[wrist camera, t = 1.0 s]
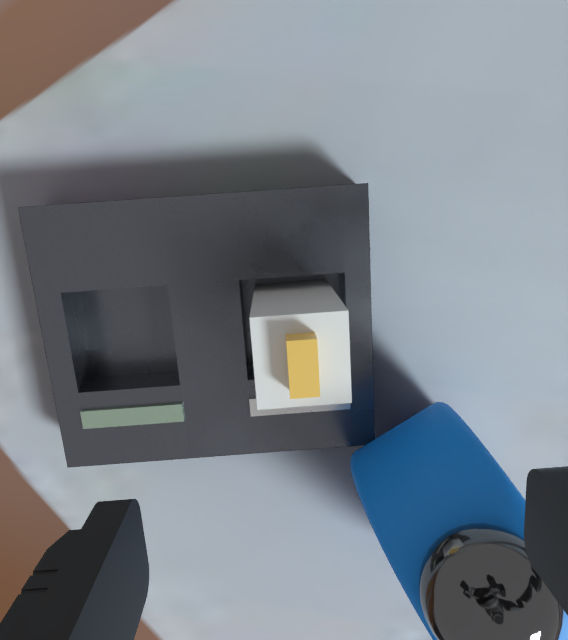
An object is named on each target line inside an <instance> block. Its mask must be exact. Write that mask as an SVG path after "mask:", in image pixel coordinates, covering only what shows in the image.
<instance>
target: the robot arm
mask: <svg viewBox="0 0 568 640" xmlns="http://www.w3.org/2000/svg"><path fill="white" fill-rule="evenodd" d="M524 543H525V548H526V552H527V555H528V558H529V560H530V563H531V564H532V566H533V568H534V570H535V571H536V572H537V574H538V575H539V577H540V578H541V579H542V581H543V582H544V584H545V585H546V586H547V588H548V589H549V590H550V592H551V593H552V595H553V596H554V597H555V599H556V600H557V602H558V603H559V604H560V606H561V607H562V608H563V610H564V611H565V613H566V614H567V615H568V466H567V467H554V468H541V469H532V470H531V471H530V472H529V474H528V477H527V486H526V503H525V521H524ZM148 585H149V563H148V557H147V550H146V544H145V537H144V531H143V524H142V518H141V511H140V506H139V503H138V501H137V500H136V499H128V500H115V501H102V502H97V503H96V504H95V506H94V508H93V509H92V511H91V513H90V515H89V516H88V518H87V520H86V522H85V524H84V525H83V527H82V529H80V530H69V531H68V532H67V533H66V534H64V535H63V536H62V537H61V538H60V539H59V540H57V541H56V542H55V543H54V544H53V545H52V546H50V548H48V549H47V550H46V552H45V553H44V555H43V557H42V558H41V560H40V561H39V563H38V564H37V566H36V568H35V569H34V571H33V575H32V576H30V577H29V579H28V580H27V582H26V583H25V585H24V587H23V588H22V592H21V594H20V595H18V597H17V598H16V599H15V601H14V602H13V604H12V606H11V607H10V609H9V610H8V612H7V614H6V615H5V617H4V618H3V620H2V622H1V623H0V640H134V637H135V634H136V630H137V627H138V624H139V621H140V618H141V614H142V611H143V608H144V604H145V601H146V597H147V593H148Z"/></svg>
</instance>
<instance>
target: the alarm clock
mask: <svg viewBox="0 0 568 640" xmlns="http://www.w3.org/2000/svg"><path fill="white" fill-rule="evenodd" d="M350 465H351V472H352V476H353V480H354V483H355V486H356V489H357V492H358V495H359V497H360V500H361V502H362V505H363V507H364V510H365V512H366V514H367V517H368V519H369V521H370V523H371V525H372V528H373V530H374V532H375V534H376V536H377V538H378V540H379V542H380V545H381V547H382V549H383V551H384V553H385V555H386V557H387V559H388V561H389V563H390V564H391V566H392V568H393V570H394V572H395V574H396V576H397V578H398V580H399V582H400V583H401V585H402V587H403V589H404V591H405V593H406V594H407V596H408V598H409V600H410V601H411V603H412V605H413V607H414V609H415V610H416V612H417V614H418V615H419V617H420V619H421V621H422V622H423V624H424V626H425V627H426V629H427V631H428V632H429V634H430V636H431V637H432V639H433V640H568V615H567V614H566V613H565V611H564V610H563V608H562V607H561V606H560V604H559V603H558V602H557V600H556V599H555V597H554V596H553V595H552V593H551V592H550V590H549V589H548V588H547V586H546V585H545V584H544V582H543V581H542V579H541V578H540V577H539V575H538V574H537V572H536V571H535V570H534V568H533V566H532V564H531V563H530V560H529V558H528V555H527V552H526V548H525V543H524V521H525V503H526V501H525V499H524V498H523V497H522V495H521V494H520V493H519V491H518V490H517V488H516V487H515V486H514V484H513V483H512V482H511V480H510V479H509V478H508V476H507V475H506V474H505V472H504V471H503V470H502V468H501V467H500V466H499V464H498V463H497V462H496V460H495V459H494V458H493V457H492V455H491V454H490V453H489V451H488V450H487V449H486V448H485V446H484V445H483V444H482V442H481V441H480V440H479V439H478V438H477V436H476V435H475V434H474V433H473V431H472V430H471V429H470V428H469V427H468V425H467V424H466V423H465V422H464V421H463V420H462V419H461V417H460V416H459V415H458V414H457V413H456V412H455V411H454V410H453V409H452V408H451V407H450V406H448V405H447V404H445V403H442V402H436V403H434V404H432V405H430V406H428V407H427V408H425V409H424V410H422V411H420V412H419V413H417V414H415V415H414V416H412V417H410V418H409V419H407V420H406V421H404V422H402V423H401V424H399V425H397V426H396V427H394V428H393V429H391V430H389V431H388V432H386V433H384V434H383V435H381V436H379V437H378V438H376V439H375V440H373V441H371V442H370V443H368V444H366V445H365V446H363V447H362V448H360V449H358V450H357V451H355V452H354V453H353V455H352V457H351V462H350Z"/></svg>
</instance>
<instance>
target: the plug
mask: <svg viewBox="0 0 568 640" xmlns="http://www.w3.org/2000/svg"><path fill="white" fill-rule="evenodd" d="M249 319H250V331H251V343H252V354H253V366H254V377H255V389H256V400H257V410H263V409H276V408H289V407H303V406H316V405H330V404H343V403H352V391H351V364H350V337H349V311H348V309H347V308H346V306H345V305H344V304H343V302H342V301H341V299H340V298H339V297H338V295H337V294H336V292H335V291H334V290H333V288H332V287H331V285H330V284H329V283H328V281H327V280H312V281H298V282H284V283H270V284H256V285H255V287H254V293H253V299H252V305H251V311H250V317H249Z"/></svg>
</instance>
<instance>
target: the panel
mask: <svg viewBox="0 0 568 640" xmlns="http://www.w3.org/2000/svg"><path fill="white" fill-rule="evenodd" d="M18 210H19V216H20V221H21V226H22V231H23V237H24V242H25V247H26V252H27V257H28V263H29V268H30V273H31V278H32V284H33V289H34V294H35V299H36V305H37V310H38V315H39V320H40V325H41V331H42V336H43V341H44V346H45V352H46V357H47V362H48V367H49V373H50V378H51V383H52V388H53V393H54V399H55V404H56V409H57V414H58V420H59V425H60V430H61V435H62V441H63V446H64V451H65V456H66V461H67V467H80V466H94V465H107V464H120V463H133V462H147V461H160V460H173V459H186V458H200V457H213V456H226V455H239V454H252V453H266V452H279V451H292V450H305V449H319V448H332V447H345V446H358V445H366V444H368V443H370V442H371V441H373V440H375V434H374V395H373V356H372V317H371V278H370V239H369V200H368V183H363V184H349V185H334V186H320V187H305V188H291V189H276V190H262V191H247V192H233V193H218V194H204V195H189V196H175V197H161V198H146V199H132V200H117V201H103V202H88V203H74V204H59V205H45V206H30V207H18ZM312 280H327V281H328V283H329V284H330V285H331V287H332V288H333V290H334V291H335V292H336V294H337V295H338V297H339V298H340V299H341V301H342V302H343V304H344V305H345V306H346V308H347V309H348V311H349V337H350V364H351V391H352V403H343V404H330V405H316V406H303V407H289V408H276V409H263V410H257V400H256V389H255V377H254V366H253V354H252V343H251V331H250V319H249V317H250V311H251V305H252V299H253V293H254V287H255V285H256V284H270V283H284V282H298V281H312Z"/></svg>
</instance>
